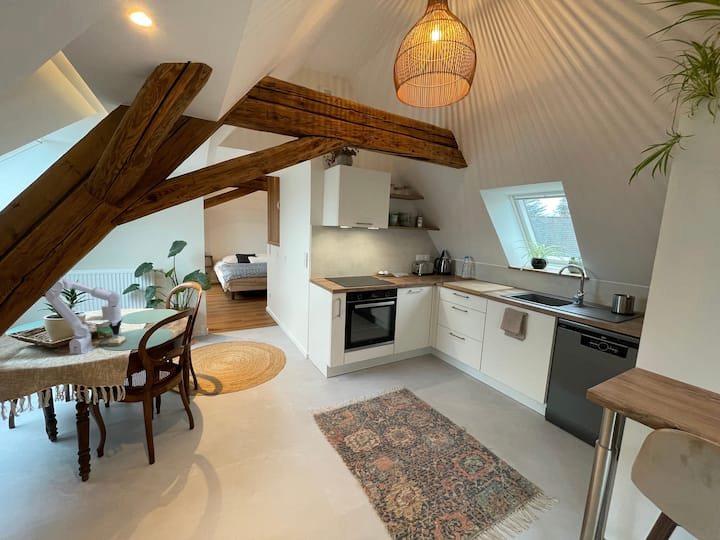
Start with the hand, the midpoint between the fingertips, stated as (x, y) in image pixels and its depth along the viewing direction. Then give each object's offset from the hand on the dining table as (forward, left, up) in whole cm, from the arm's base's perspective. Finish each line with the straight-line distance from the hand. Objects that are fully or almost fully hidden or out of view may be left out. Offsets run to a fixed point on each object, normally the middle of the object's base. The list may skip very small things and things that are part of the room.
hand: (116, 333), depth 181 cm
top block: (0, 0, -5) cm, 5 cm away
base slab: (0, 0, -7) cm, 7 cm away
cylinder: (0, 0, -1) cm, 1 cm away
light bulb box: (+50, +36, -7) cm, 62 cm away
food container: (+13, +12, -7) cm, 19 cm away
